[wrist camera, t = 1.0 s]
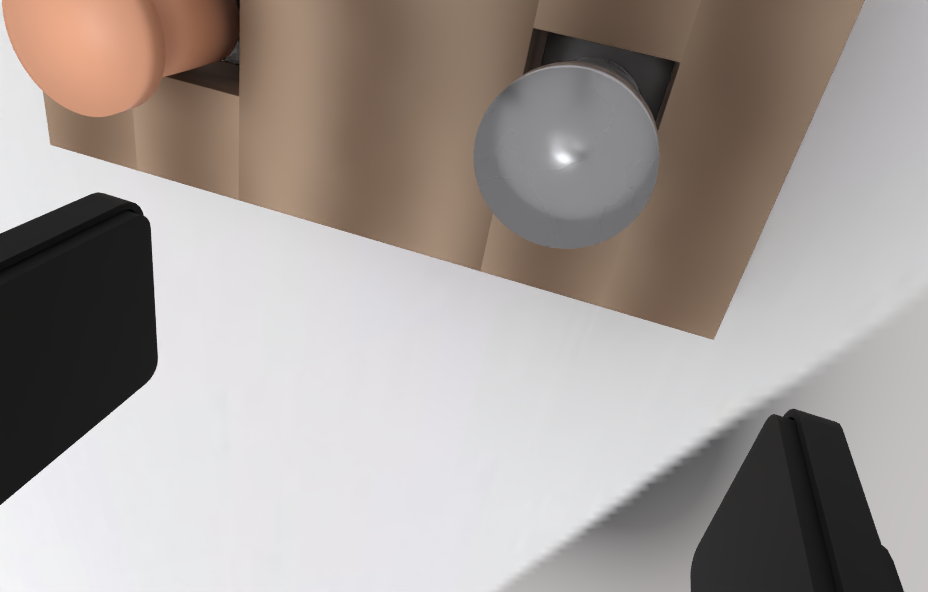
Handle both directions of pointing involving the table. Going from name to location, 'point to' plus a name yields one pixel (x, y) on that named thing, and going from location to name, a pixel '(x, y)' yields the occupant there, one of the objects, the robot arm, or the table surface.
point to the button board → (459, 115)
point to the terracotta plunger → (116, 46)
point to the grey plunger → (568, 153)
